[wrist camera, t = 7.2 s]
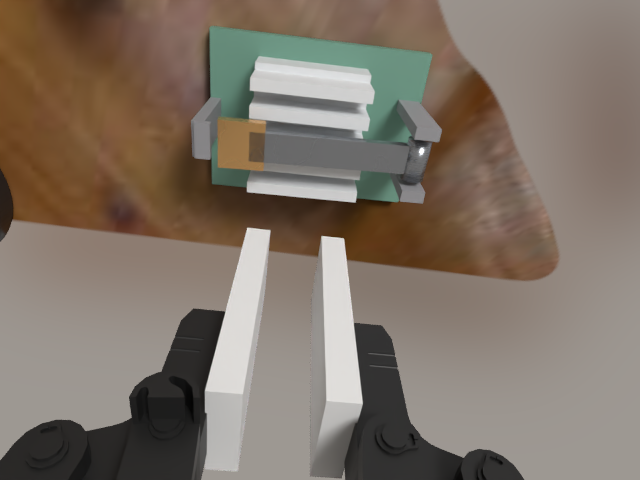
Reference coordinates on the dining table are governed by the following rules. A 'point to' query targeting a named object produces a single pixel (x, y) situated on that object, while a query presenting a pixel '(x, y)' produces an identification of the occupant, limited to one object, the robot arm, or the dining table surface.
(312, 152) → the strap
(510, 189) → the dining table surface
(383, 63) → the heatsink board
